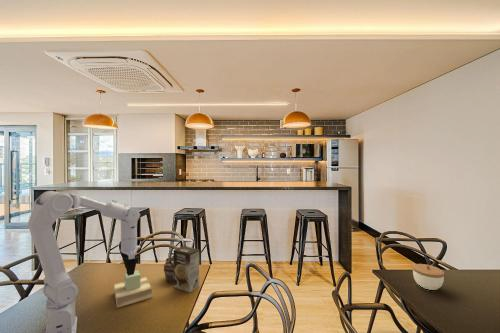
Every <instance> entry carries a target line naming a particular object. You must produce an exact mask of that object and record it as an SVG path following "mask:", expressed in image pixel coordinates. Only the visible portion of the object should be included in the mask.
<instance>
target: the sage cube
mask: <svg viewBox="0 0 500 333" xmlns="http://www.w3.org/2000/svg"><path fill="white" fill-rule="evenodd" d="M123 275H124V276H123V279H124V280H123V282H124V284H125V288H126V291H129V290H133V289H136V288H140V287H141V283H140V278H141V273H140V271H139V270H138V269H137V270H136V269H135V272H134V274H133V275H129V276H128V274H127V272H126V273H124V274H123Z"/></svg>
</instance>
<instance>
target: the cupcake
mask: <svg viewBox="0 0 500 333" xmlns="http://www.w3.org/2000/svg"><path fill="white" fill-rule="evenodd" d="M163 272H164V276H165V281H166V282H167V283H170V284H174V254H173V255H172V256H171V257H169V258H168V257H167V258H166V259H165V263H164V264H163Z"/></svg>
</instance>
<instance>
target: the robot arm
mask: <svg viewBox="0 0 500 333" xmlns="http://www.w3.org/2000/svg"><path fill="white" fill-rule="evenodd" d="M33 204H34V205H33V209H32V211H31V214H30V216H29V219H28V222H27V226H28V229H29V232H30V235H31V238H32V241H33V245H34V248H35V250H36V253H37V257H38V259H39V262H40V266H41V269H42V271H43V274H44V278H43V283H44V285H43V289H42V293H43V295H44V296H45V297H47V299H46V300H47V301H46V303H45V308H46V310H45V314H46V315H45V316H46V318H45V319H46V327H45V333H77V327H78V326H77V325H78V316H76V297H77V295H78V293H79V288H78V286H77V284H75V283H74V282H73V280H72V278H71V277H70V275H69V273H68V272H67V270H66V267H65V264H64V261H63V258H62V254H61V252H60V249H59V248H60V247H59V245H58V241H57V238H56V235H55V232H54V229H53V225H54V224H55V222H56V221H57V220H58V219H59V218H60V217H61V216H63V215H65V214H66V213H68V212H69V211H70V210H71V209H73V210H75V209H77V208H79V207H81V208H86V209H90V210H94V211H95V210H96V211H99V212H100V214H101V215H102V217H107V218H111V219H115V220H119V221H120V250H119V252H120V254H121V256H122V257H121V258H122V261H123V264H124V268H125V269H126V273H127V274H128V276H129V275H133V274H134V272H135V271H136V265H137V263H138V261H139V258H140V256H139V255H136V252H137V251H138V250H139V249H141V246H140V245H138V232H137V231H138V221H139V219H140V217H141V213H140V211H139V209H138V208H136V207H132V206H129V205H128V204H126V203H124V204H122V203H119V202H118V201H117V200H114V199H111V200H107V201H104V202H102V201H100V200H96V199H93V198H91V197H88V196H84V195H80V194H75V193H67V192H58V191H56V190H47V191H44V192H43V193H41V194H40V195H39V196H38V197H37V198H36V199H35V200H34V202H33Z"/></svg>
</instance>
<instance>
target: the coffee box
mask: <svg viewBox="0 0 500 333" xmlns="http://www.w3.org/2000/svg"><path fill="white" fill-rule="evenodd" d="M173 255H174V283H173V288H175V289H178V290H181V291H183V292H187V293H191V292H193V291H194V290H196V289H197V288H199V287H200V249H199V248H195V247H190V246H186V245H183V246H179V247H177V248H175V249H174V250H173Z"/></svg>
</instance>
